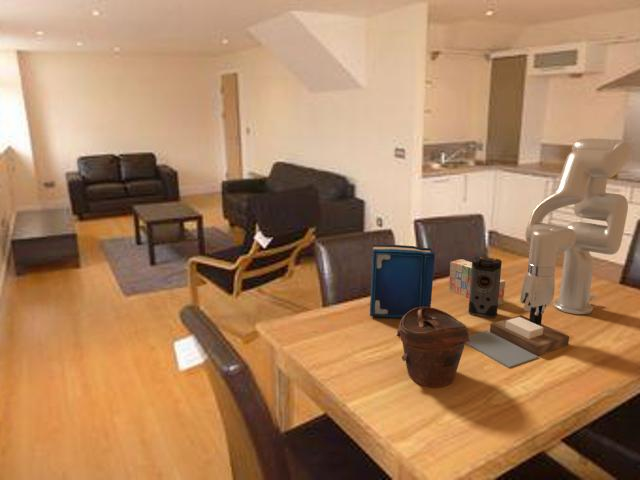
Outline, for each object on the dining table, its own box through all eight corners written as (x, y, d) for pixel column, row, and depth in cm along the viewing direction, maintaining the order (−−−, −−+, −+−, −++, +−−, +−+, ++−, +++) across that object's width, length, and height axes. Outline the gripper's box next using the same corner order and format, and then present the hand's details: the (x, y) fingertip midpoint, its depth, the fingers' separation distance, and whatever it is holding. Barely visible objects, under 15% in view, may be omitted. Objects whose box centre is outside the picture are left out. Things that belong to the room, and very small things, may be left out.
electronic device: (467, 314, 173) (471, 260, 168) (470, 308, 178) (474, 255, 173) (495, 319, 169) (499, 264, 163) (497, 313, 174) (502, 259, 168)
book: (430, 312, 175) (434, 244, 169) (433, 320, 168) (436, 250, 162) (369, 310, 177) (371, 243, 171) (369, 318, 170) (371, 249, 164)
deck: (520, 323, 165) (520, 315, 164) (568, 345, 150) (569, 336, 149) (489, 332, 159) (490, 323, 158) (536, 356, 144) (537, 346, 143)
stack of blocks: (503, 304, 182) (506, 272, 178) (492, 308, 178) (495, 276, 175) (459, 287, 199) (461, 258, 196) (448, 290, 196) (450, 261, 193)
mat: (486, 331, 160) (486, 330, 159) (538, 357, 142) (538, 356, 142) (458, 339, 154) (458, 338, 154) (508, 368, 137) (509, 366, 137)
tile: (518, 323, 158) (519, 316, 157) (542, 334, 150) (543, 327, 150) (505, 327, 155) (506, 320, 155) (529, 338, 148) (529, 331, 147)
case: (413, 350, 147) (415, 295, 142) (478, 372, 135) (482, 312, 130) (381, 376, 134) (382, 316, 129) (449, 403, 122) (453, 338, 117)
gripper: (547, 262, 156) (540, 316, 161) (513, 270, 149) (508, 325, 154) (568, 269, 150) (561, 324, 155) (534, 277, 143) (528, 334, 148)
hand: (534, 324), depth 154 cm, fingers closed
